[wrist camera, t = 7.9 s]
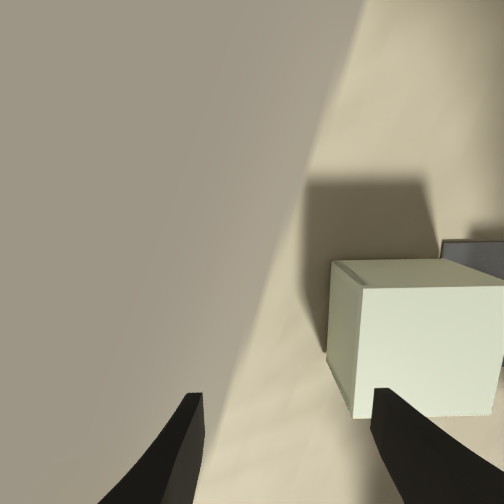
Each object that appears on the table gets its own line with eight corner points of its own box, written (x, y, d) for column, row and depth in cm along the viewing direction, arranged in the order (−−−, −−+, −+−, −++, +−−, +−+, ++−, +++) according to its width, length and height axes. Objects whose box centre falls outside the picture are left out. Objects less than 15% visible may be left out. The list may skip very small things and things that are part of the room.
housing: (444, 258, 20) (518, 285, 14) (430, 358, 22) (490, 415, 16) (331, 260, 20) (363, 288, 14) (326, 360, 21) (352, 418, 16)
